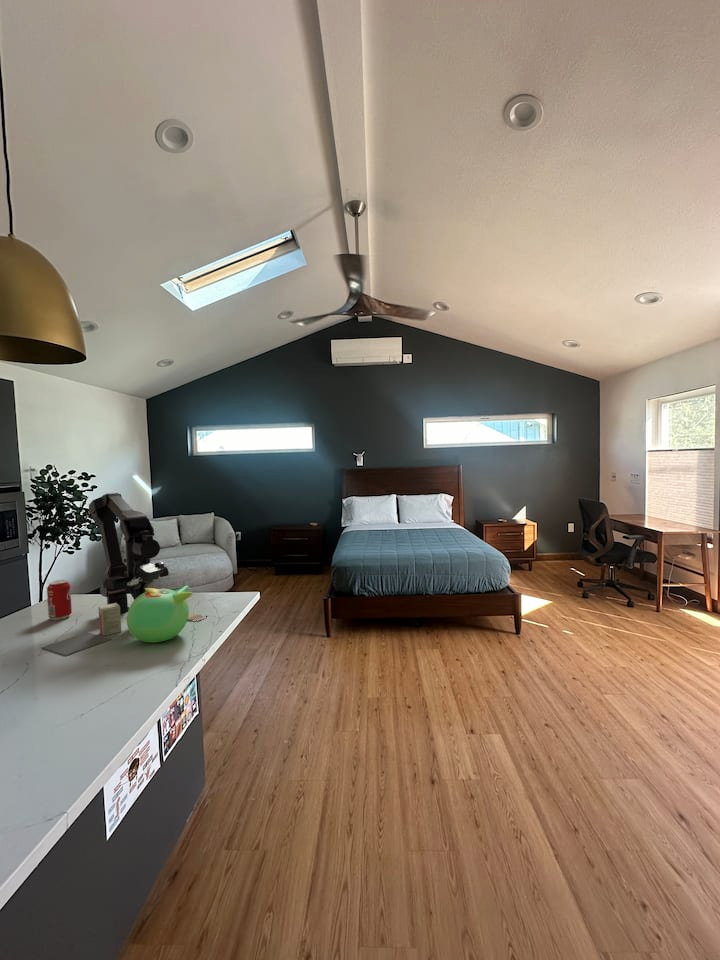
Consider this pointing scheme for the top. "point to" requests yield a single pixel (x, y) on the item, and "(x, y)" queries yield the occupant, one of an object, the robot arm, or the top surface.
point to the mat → (76, 643)
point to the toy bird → (158, 614)
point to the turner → (195, 617)
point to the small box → (109, 619)
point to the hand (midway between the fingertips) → (139, 604)
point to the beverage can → (59, 599)
